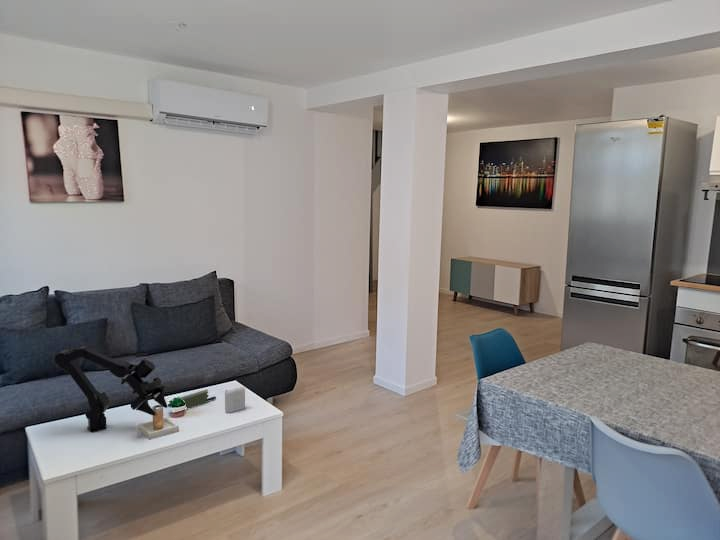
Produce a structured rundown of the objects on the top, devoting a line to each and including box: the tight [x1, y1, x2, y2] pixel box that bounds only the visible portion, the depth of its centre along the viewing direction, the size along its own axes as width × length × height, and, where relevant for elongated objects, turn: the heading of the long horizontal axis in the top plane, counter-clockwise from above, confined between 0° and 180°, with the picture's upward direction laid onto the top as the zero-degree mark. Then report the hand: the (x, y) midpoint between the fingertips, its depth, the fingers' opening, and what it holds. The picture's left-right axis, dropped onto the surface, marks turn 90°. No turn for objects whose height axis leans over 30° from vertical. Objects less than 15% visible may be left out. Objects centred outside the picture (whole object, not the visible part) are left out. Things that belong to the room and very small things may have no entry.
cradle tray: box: [137, 417, 180, 440], centre depth 236 cm, size 13×13×2 cm
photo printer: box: [224, 384, 246, 414], centre depth 260 cm, size 10×4×12 cm, turn 134°
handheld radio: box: [170, 389, 217, 410], centre depth 266 cm, size 7×3×25 cm
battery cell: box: [151, 404, 164, 431], centre depth 235 cm, size 4×4×10 cm
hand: (160, 411), depth 234 cm, fingers open, 9 cm apart
